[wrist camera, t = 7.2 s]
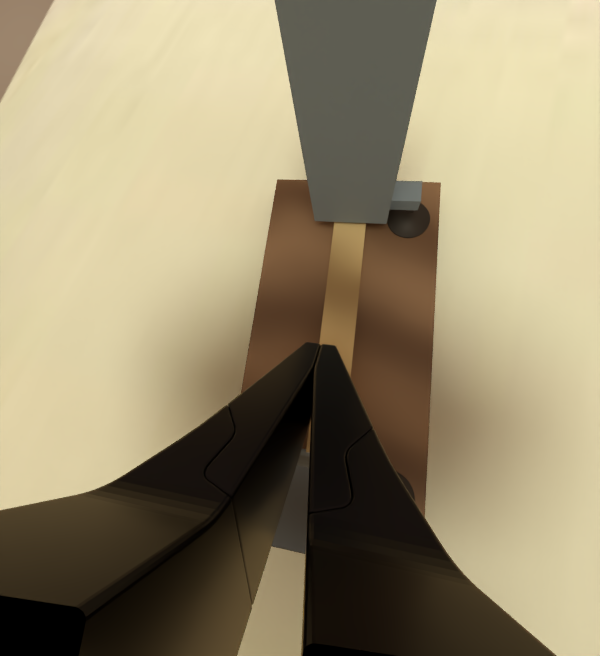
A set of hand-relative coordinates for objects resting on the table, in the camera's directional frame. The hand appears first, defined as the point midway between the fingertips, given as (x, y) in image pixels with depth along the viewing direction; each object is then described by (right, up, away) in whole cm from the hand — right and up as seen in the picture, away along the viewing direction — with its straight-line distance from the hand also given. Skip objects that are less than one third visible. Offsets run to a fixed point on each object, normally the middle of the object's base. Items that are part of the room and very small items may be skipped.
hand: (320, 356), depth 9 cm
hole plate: (+2, 0, +10) cm, 10 cm away
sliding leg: (+3, +8, +9) cm, 13 cm away
